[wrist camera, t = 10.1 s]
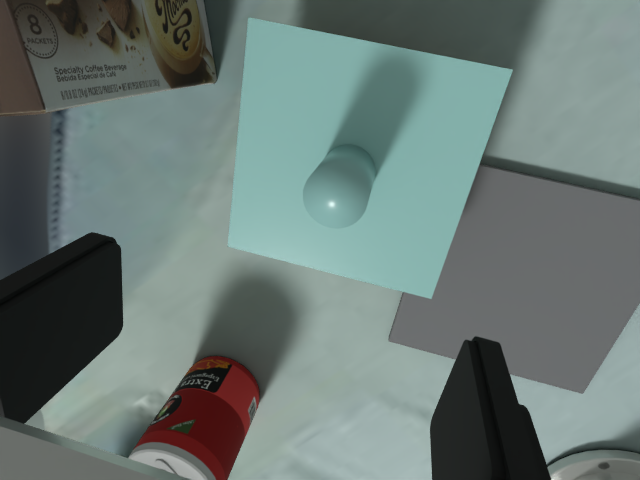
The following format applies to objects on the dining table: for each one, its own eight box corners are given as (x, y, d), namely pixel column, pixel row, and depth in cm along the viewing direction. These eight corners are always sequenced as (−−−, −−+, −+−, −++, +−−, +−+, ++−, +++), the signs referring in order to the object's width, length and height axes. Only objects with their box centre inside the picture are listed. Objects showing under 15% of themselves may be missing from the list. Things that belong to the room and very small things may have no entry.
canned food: (229, 342, 39) (169, 438, 30) (277, 401, 41) (236, 509, 32) (174, 369, 42) (103, 464, 33) (222, 423, 44) (169, 529, 34)
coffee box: (107, -54, 28) (-227, -173, 13) (196, -68, 26) (-67, -218, 12) (140, 91, 31) (-92, 123, 17) (220, 85, 30) (42, 115, 15)
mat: (689, 210, 27) (695, 213, 27) (580, 388, 34) (582, 393, 34) (446, 156, 29) (446, 158, 28) (388, 336, 36) (388, 341, 35)
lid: (509, 69, 22) (541, 74, 16) (430, 292, 28) (435, 347, 22) (253, 18, 23) (207, 7, 18) (232, 241, 29) (193, 282, 24)
